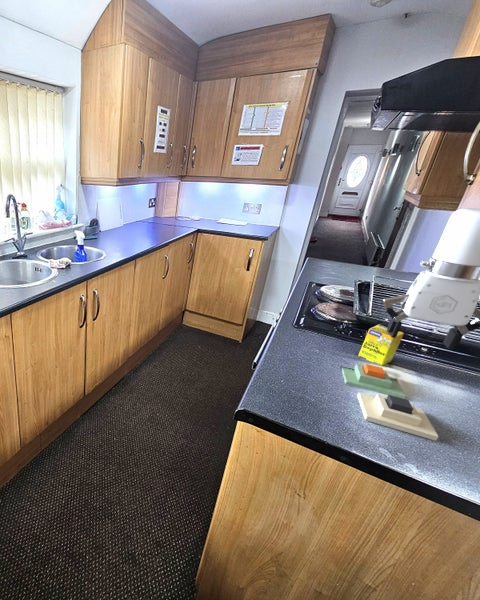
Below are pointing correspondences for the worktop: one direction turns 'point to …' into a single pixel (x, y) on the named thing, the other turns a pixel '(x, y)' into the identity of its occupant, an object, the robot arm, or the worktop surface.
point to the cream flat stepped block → (396, 416)
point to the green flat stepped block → (371, 381)
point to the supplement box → (379, 345)
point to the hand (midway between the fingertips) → (418, 340)
